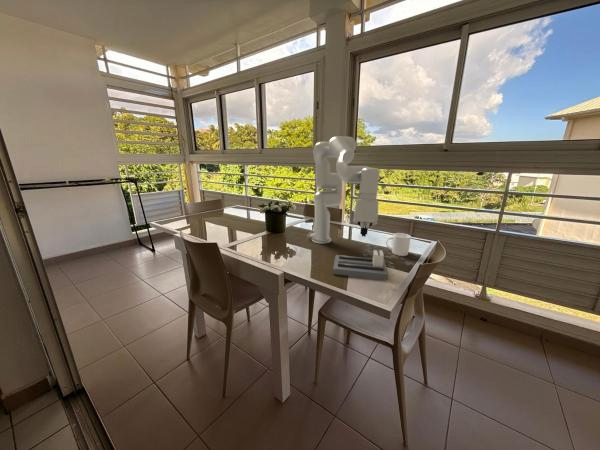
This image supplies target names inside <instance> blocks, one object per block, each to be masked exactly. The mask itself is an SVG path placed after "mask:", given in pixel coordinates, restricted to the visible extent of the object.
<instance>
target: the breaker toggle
mask: <svg viewBox="0 0 600 450" xmlns="http://www.w3.org/2000/svg"><path fill="white" fill-rule="evenodd" d="M372 252H373V253H372V255H373V256H372V258H373V261H372V262H373V267H381V268H382V267H383V259H384V256H385V255H384V252H383V250H380V249H377V250H376V249H373V251H372Z"/></svg>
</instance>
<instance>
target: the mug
mask: <svg viewBox="0 0 600 450" xmlns="http://www.w3.org/2000/svg"><path fill="white" fill-rule="evenodd" d="M390 240H392V246H389V245H388V241H390ZM410 244H411V235H410V234H407V233H403V232H395V233H393V235H392V236H390V237H388V238H387V240H386V247H387V249H389V250H391V253H392V254H393V255H396V256H399V257H406V256H408V254H409V250H410V246H411V245H410Z"/></svg>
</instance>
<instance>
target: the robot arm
mask: <svg viewBox="0 0 600 450" xmlns="http://www.w3.org/2000/svg"><path fill="white" fill-rule="evenodd" d="M356 149H357V141H356V140H355V138H353V137H352V136H344V135H343V136H340V135H339V136H337V135H335V136H333V137H331V138H330V139H329V141H318V142H316V143H315V145H314V147H313V152H312V154H313V160H314V164H315V185H316V188H317V189H321V191H317V192H316V193H314V195H313V205H314V226H313V232H312V233H310V234H309V235H308V238H311V241H312V243H315V244H320V245H321V244H325V245H326V244H329V243H331V242H332V238H331V237H330V227H331V226H330V225H331V223H330V222H331V212H330V211H329V210H328V208H329V207H337V206H339V205H341V204H342V201H343V199H342V198H343V182H344V183H346V184H347V183H348V184H355V183H356V184H359V192H358V193H356V192H355V197H357V199H356V202H355V206H354V213H353V220H352V223H354V224H357V225H358V226H359V227H360V232H359V233H360V235H361V237H364V238H365V237H366V235H368V230H369V228H371V226H375V225H378V217H379V200H378V199H377V195H378V189H379V188H378V187H379V179H380V169H379V168H377V167H369V166H367V165H349V164H350V163H351V162H352V161H353V160H354V158H355V151H356ZM328 158H336V163H335V164H336V165H335V169H336V172H331V165H330V162H329V160H328ZM364 223H365V225H364Z"/></svg>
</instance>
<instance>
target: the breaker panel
mask: <svg viewBox="0 0 600 450" xmlns="http://www.w3.org/2000/svg"><path fill="white" fill-rule="evenodd" d="M372 261H373V257H372V258H371V257H360V256H350V255H340V254H336V255H335V256H334V262H333V267H332V274H333V275H340V276H348V277H356V278H365V279H375V280H385V281H388V278H389V272H388V269H387V266H386V265H387V264H386V260H385V259H384V258H383V267H382V268H381V267H373V262H372Z"/></svg>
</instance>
